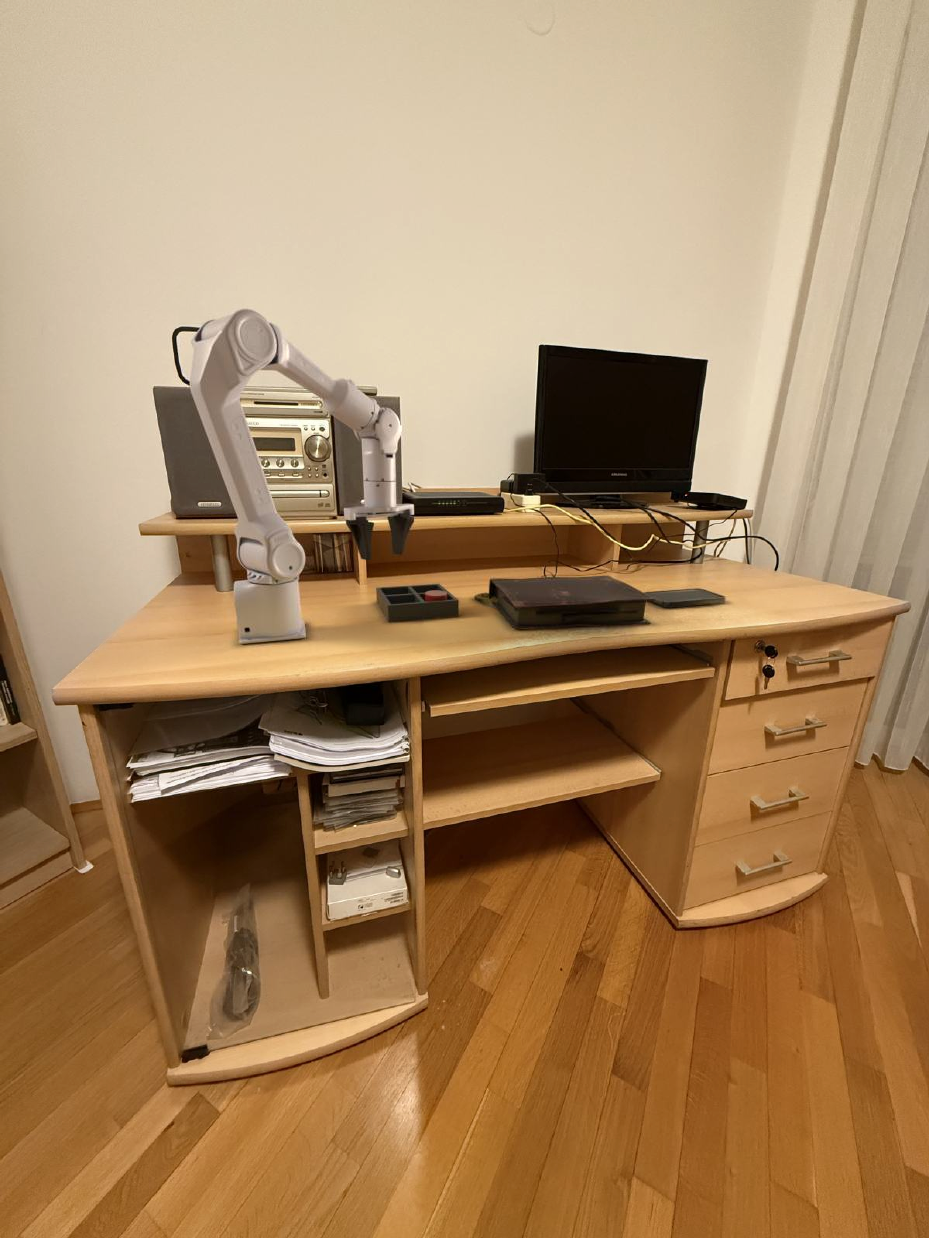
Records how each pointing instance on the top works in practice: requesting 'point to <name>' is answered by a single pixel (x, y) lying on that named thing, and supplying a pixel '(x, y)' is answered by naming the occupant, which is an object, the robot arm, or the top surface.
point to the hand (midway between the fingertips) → (382, 556)
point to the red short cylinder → (435, 595)
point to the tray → (415, 603)
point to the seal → (485, 599)
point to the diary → (568, 602)
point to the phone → (685, 597)
